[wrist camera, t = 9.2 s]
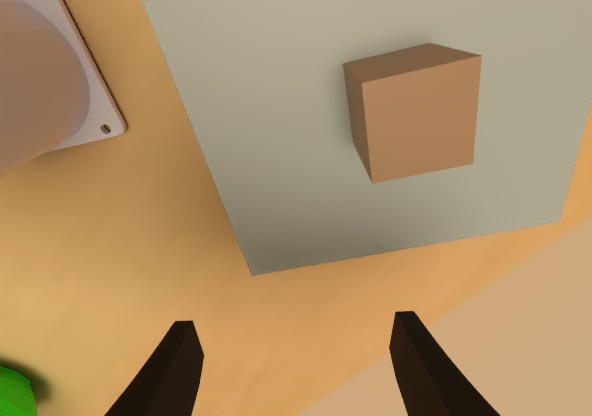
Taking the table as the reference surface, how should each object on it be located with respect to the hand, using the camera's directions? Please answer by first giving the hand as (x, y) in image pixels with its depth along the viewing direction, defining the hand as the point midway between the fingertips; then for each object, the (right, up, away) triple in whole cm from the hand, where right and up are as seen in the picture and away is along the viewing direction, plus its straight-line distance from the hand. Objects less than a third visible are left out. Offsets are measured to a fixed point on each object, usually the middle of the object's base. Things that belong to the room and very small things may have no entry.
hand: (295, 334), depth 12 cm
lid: (+3, +9, +1) cm, 10 cm away
